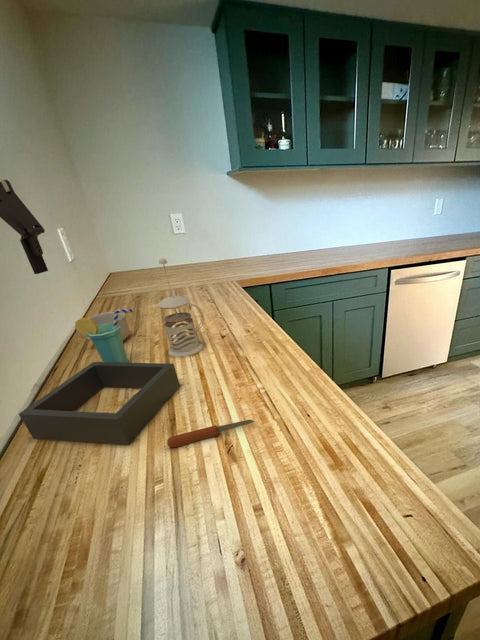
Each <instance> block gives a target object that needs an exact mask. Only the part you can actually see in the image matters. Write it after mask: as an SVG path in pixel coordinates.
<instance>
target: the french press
mask: <svg viewBox="0 0 480 640" xmlns="http://www.w3.org/2000/svg"><path fill="white" fill-rule="evenodd" d="M158 263H159V265H163V268H164V272H165V276H166V280H167V284H168V288H169V291H170V296H168V297H165V298H163V299H162V300H160V301H159V303H158V304H157V307H158V308H159V309H161V310H175V311H174V313H171V314H169V315H166V316H165V317H164V318H163V321H164V324H163V326H164V329H165V333H166V336H167V340H168V344H169V347H170V348H169V349H168V351H167V354H168V355H169V356H171V357H175V358H183V357H189V356H191V355H195V354H197V353H199V352H200V351H202V350H203V348H204V344H203V343H201V342H200V340H199V335H198V331H199V330H200V329H201V328H202V327H203V325H204V321H205V317H204V313H203V311H202V309H201V308H200V307H199V306H198V305H196V304H194V303H191V302H190V299H189V298H188V297H186V296H181V295H173V293H172V289H171V285H170V281H169V277H168V273H167V270H166V266H165V264H168V261H167V259H166V258H160V259H159V261H158ZM189 302H190V303H189ZM187 305H188V308H189V310H190V311H192V307H194V308H196V309H197V310H199V312H200V315H201V316H200V317H201V319H200V323H199V324H198V325H197V326H196V327H195V322H194V320H193V318H192V317H191V316H192V314H191V313H190V312H181V311H180V312H177V309H179V308H182V307H185V306H187Z"/></svg>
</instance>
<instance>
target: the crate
mask: <svg viewBox="0 0 480 640" xmlns="http://www.w3.org/2000/svg"><path fill="white" fill-rule="evenodd" d="M180 387H181V384H180V380H179V377H178V374H177V370H176V367H175V364H174V363H166V362H165V363H163V362H161V363H160V362H128V363H118V362H103V361H92V362H91V363H89V364H88V365H87V366H85V367H84V368H82V369H81V370H80V371H78V372H77V373H75V374H73V375H72V376H71V377H69V378H68V379H67V380H64V381H63V382H62V383H60V384H59V385H58V386H56V387H54V389H52V390H51V391H50V392H47V393H46V394H45V395H44V396H42V397H41V398H39V399H38V400H36V401H35V402H33V403H32V404H30V405H29V406H28V407H26V408H25V409H23V410H22V411H20V412H19V413H18V416H19V417H20V419H21V421H22V422H23V424H24V426H25V427H26V429H27V431H28V432H29V434H30V436H31V437H32V439H33V440H44V441H62V442H77V443H88V444H89V443H91V444H105V445H106V444H107V445H119V446H130V445H131V444H132V443H133V441H135V439H136V438H137V437H138V435H139V434H140V433H141V432H142V431H143V430H144V428H146V426H147V425H148V424H149V423H150V422H151V420H152V419H153V418H154V417H155V416H156V415H157V414H158V413H159V411H160V410H162V408H163V407H164V405H165V404H166V403H167V402H168V401H169V400H170V399H171V398H172V396H173V395H174V394H175V393H176V392H177V390H179V388H180ZM103 388H118V389H119V388H121V389H139V390H138V391H137V392H136V393H135V394H134V395H133V396H132V397H131V398H130V399H129V400H128V401H127V402H126V403H125V404H123V406H121V407H120V408H119V410H117V411H116V412H115V413H114V412H96V411H95V412H94V411H77V410H79V408H80V407H82V406H83V405H84V404H85V403H87V402H88V401H89V400H90V399H91V398H93V397H94V396H95V395H96V394H97V393H99V392H100V391H101V390H102V389H103Z"/></svg>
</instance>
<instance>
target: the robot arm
mask: <svg viewBox="0 0 480 640" xmlns="http://www.w3.org/2000/svg"><path fill="white" fill-rule="evenodd" d="M0 218H1V219H2V221H4V222H5V223H6V224H7V225H8V226H10V227H11V229H12V230H14V231H15V232H16V233H18V235H20V239H19V241H20V243H21V244H20V245H21V246H22V248H23V251H24V253H25V256H26V258H27V260H28V262H29V265H30V266H31V269H32V272H33V274H34V275H38V274H43V273H45V272H48V271H49V269H48V267H47V264H46V261H45V259H44V256H43V255H44V250H43V248H42V246H41V244H40V243H41V242H40V241H39V239H38V237H39V236H40V235H41V234H44V233H45V231H46V230H45V228H44V227H43V226H42V224H41V223H40V222H39V221H38V219H37V218H36V216H34V214H33V213H32V212H31V211H30V209H29V208H28V207H27V206H26V204H25V203H24V202H23V201H22V199H21V198H20V197H19V196H18V195H17V194H16V192H15V190H14V188H13V186H12V184H11V182H10V181H9V180H8V179H0Z"/></svg>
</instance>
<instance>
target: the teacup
mask: <svg viewBox="0 0 480 640" xmlns="http://www.w3.org/2000/svg"><path fill="white" fill-rule="evenodd" d="M114 313H115V311H106V312H100V313H97V314H94V315H92V316H89V317H88V318H87V319H90V320H92V321H93V322H94V323H95V324H96V325H97V326H101V325H105V324H114ZM117 325H118V326H120V328H121V331H120V333H121V337H122V341H123V342H125V340H126V338H128V337H129V335H130V326H129V323H128V320H127V317H126V313H119V314H118V324H117ZM76 334H77V335H78V337H80V338H81V339H83V340H87V341H92V340H91V338H90V337H85V336H82V335H81V334H80V333H79V332H78V331H77V330H76Z"/></svg>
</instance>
